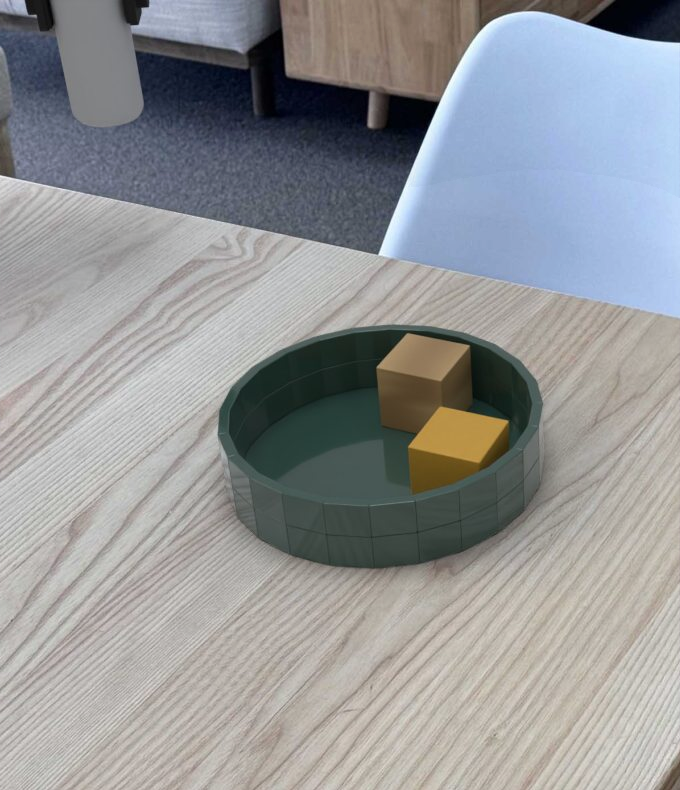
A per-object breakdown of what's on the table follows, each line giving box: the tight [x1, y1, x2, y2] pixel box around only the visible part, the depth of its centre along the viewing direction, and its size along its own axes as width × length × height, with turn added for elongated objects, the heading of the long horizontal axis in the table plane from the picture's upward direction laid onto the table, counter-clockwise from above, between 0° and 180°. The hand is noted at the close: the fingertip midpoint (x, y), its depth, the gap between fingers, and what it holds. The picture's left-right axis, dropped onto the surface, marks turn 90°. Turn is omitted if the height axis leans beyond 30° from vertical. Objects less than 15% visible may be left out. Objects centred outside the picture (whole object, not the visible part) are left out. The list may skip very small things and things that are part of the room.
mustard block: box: [408, 407, 510, 495], centre depth 73 cm, size 4×4×4 cm
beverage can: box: [49, 0, 145, 128], centre depth 92 cm, size 5×5×12 cm
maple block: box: [376, 333, 473, 434], centre depth 80 cm, size 4×4×4 cm
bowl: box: [216, 323, 545, 569], centre depth 76 cm, size 17×17×4 cm
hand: (91, 19), depth 91 cm, fingers closed on beverage can, 4 cm apart
